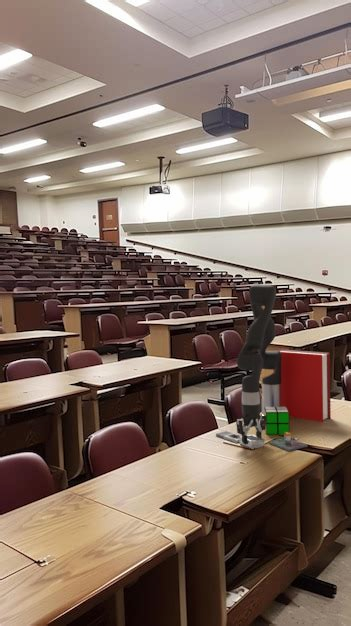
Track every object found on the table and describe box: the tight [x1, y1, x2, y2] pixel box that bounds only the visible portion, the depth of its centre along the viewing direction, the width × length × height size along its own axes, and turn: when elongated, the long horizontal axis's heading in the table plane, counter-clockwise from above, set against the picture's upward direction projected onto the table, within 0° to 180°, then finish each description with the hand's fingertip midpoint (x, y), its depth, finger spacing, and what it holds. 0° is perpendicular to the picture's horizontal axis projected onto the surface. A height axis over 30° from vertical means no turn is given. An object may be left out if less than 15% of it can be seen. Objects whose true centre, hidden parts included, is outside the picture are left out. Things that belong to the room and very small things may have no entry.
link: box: [239, 433, 265, 450], centre depth 197 cm, size 8×6×3 cm
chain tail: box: [215, 430, 242, 444], centre depth 207 cm, size 13×6×1 cm, turn 37°
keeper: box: [268, 431, 308, 452], centre depth 196 cm, size 12×10×5 cm
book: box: [272, 349, 332, 423], centre depth 239 cm, size 27×8×32 cm, turn 48°
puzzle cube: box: [264, 407, 290, 436], centre depth 215 cm, size 10×10×10 cm
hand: (251, 442), depth 197 cm, fingers closed on link, 6 cm apart
